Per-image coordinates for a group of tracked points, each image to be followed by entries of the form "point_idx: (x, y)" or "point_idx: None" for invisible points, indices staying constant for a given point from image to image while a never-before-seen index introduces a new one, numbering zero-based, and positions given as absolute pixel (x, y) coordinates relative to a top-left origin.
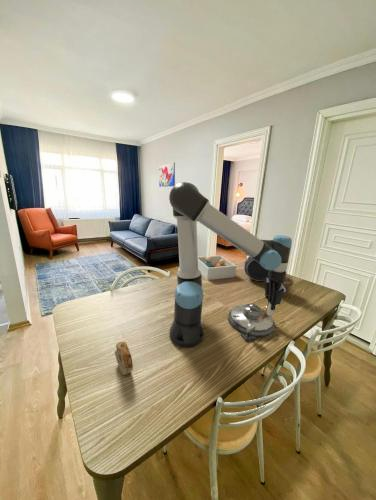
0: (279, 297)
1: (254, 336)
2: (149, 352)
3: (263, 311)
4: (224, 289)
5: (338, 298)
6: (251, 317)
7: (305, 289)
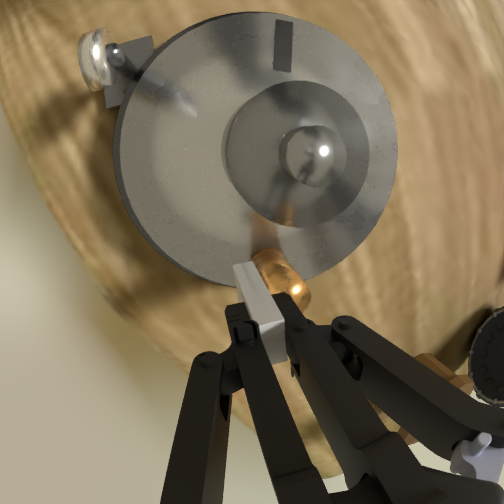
0: (176, 457)
1: (114, 104)
2: None
3: (307, 261)
4: (496, 174)
5: None
6: (231, 118)
7: None
